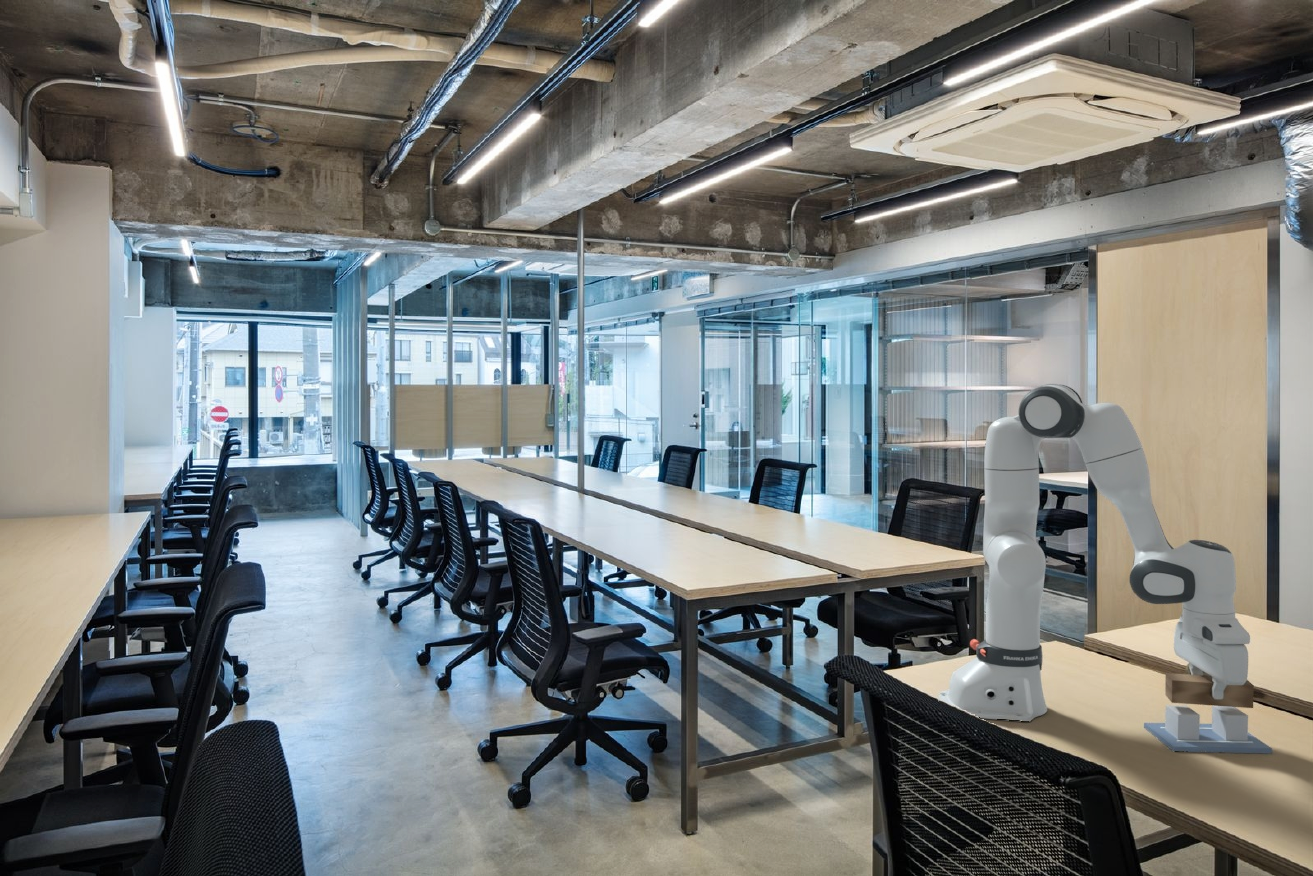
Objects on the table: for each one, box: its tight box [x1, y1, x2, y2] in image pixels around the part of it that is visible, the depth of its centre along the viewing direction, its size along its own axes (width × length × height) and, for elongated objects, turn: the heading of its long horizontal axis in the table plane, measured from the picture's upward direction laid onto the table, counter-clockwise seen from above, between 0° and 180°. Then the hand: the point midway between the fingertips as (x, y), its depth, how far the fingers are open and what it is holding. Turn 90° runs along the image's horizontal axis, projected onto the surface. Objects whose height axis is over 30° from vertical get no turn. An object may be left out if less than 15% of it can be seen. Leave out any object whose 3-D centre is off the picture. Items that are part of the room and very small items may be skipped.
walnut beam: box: [1164, 672, 1254, 709], centre depth 173 cm, size 14×4×4 cm, turn 74°
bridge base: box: [1143, 704, 1273, 754], centre depth 174 cm, size 18×12×6 cm, turn 85°
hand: (1207, 692), depth 173 cm, fingers closed on walnut beam, 5 cm apart
